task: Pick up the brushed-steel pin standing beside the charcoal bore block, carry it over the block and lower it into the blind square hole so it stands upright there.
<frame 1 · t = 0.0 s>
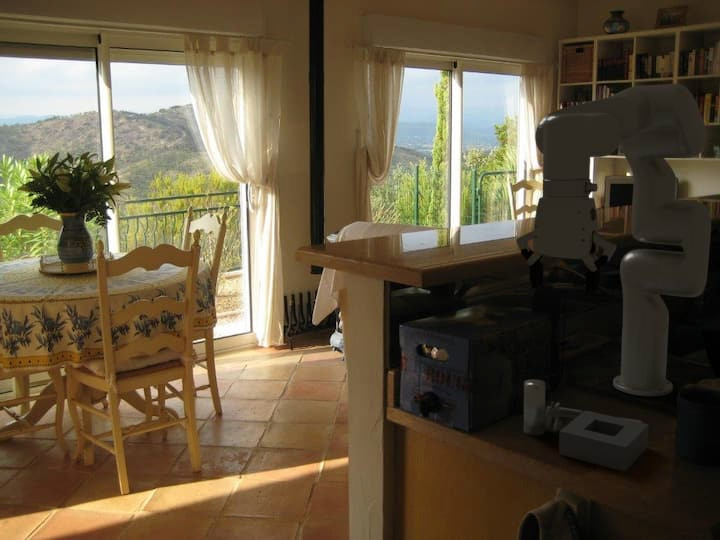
hand: (563, 289, 124), 31 cm above the countertop, fingers open, 9 cm apart
bore block: (603, 450, 133), on the countertop
caliper: (596, 430, 142), on the countertop
steel pin: (534, 431, 142), on the countertop
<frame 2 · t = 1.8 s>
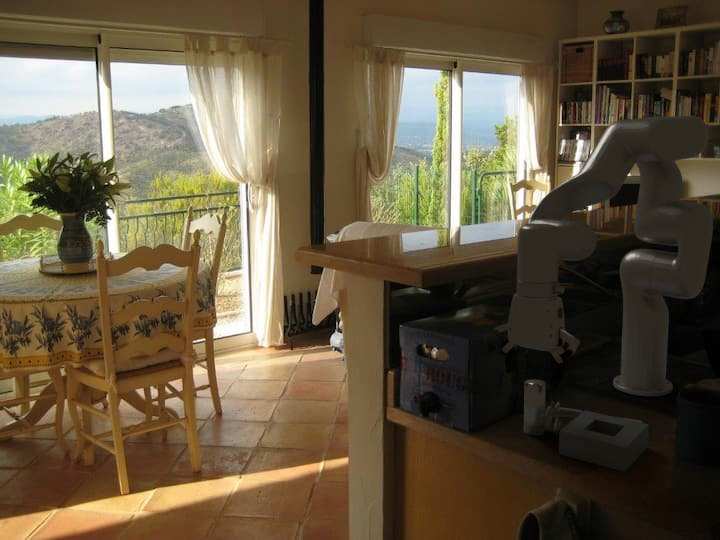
hand: (533, 376, 140), 11 cm above the countertop, fingers open, 9 cm apart
nothing on the countertop moved.
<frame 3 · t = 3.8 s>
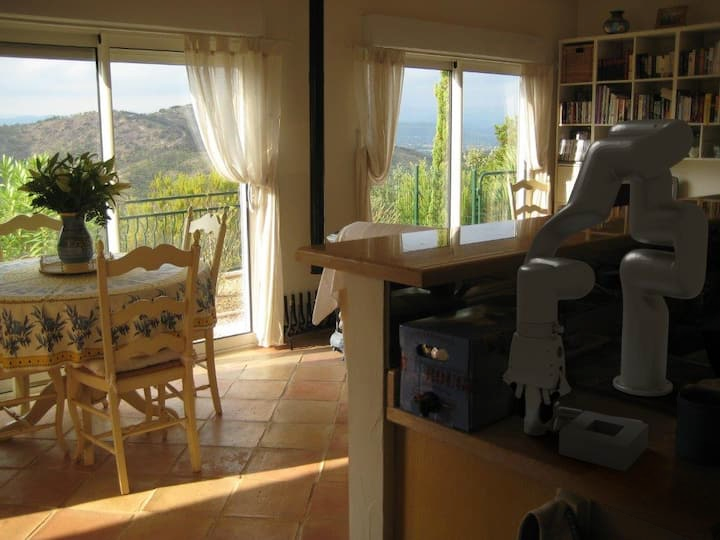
hand: (535, 417, 141), 3 cm above the countertop, fingers closed on steel pin, 4 cm apart
steel pin: (534, 431, 142), on the countertop, touching gripper
everything else where it was.
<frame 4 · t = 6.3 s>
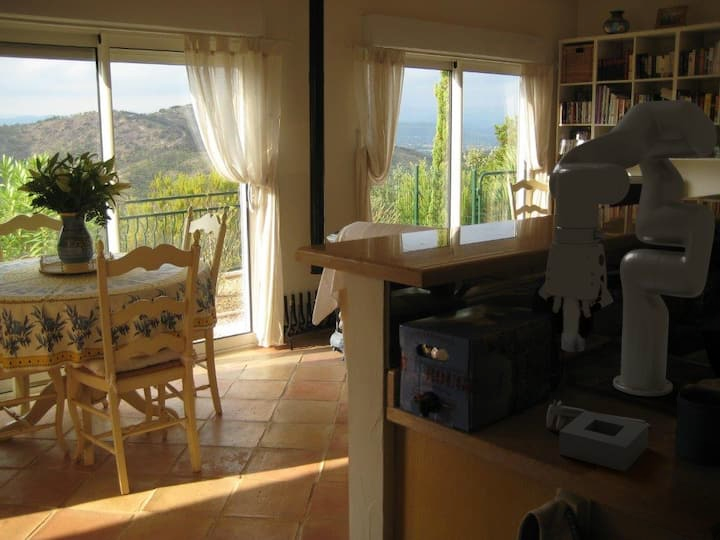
hand: (573, 333, 133), 21 cm above the countertop, fingers closed on steel pin, 4 cm apart
steel pin: (572, 348, 133), point 18 cm above the countertop, touching gripper
everything else where it was.
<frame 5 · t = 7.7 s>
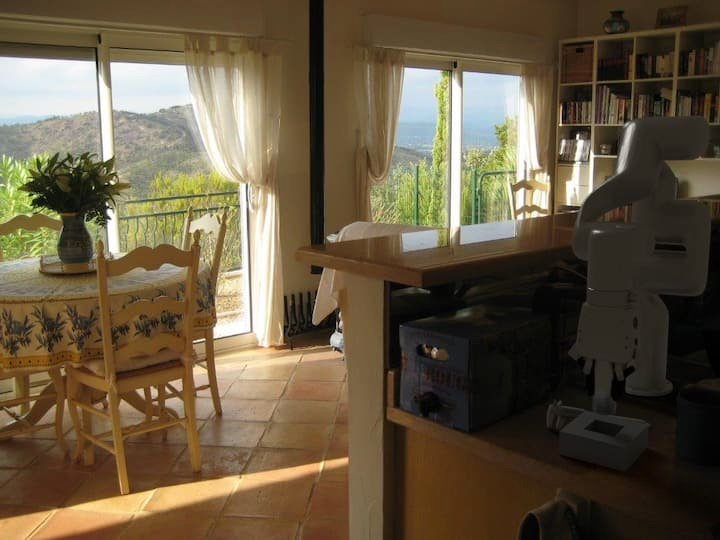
hand: (605, 395, 130), 11 cm above the countertop, fingers closed on steel pin, 4 cm apart
steel pin: (604, 411, 131), point 8 cm above the countertop, touching gripper
everything else where it was.
when the fingers open (6 cm above the countertop, at t = 9.0 s): steel pin drops 2 cm, resting on bore block.
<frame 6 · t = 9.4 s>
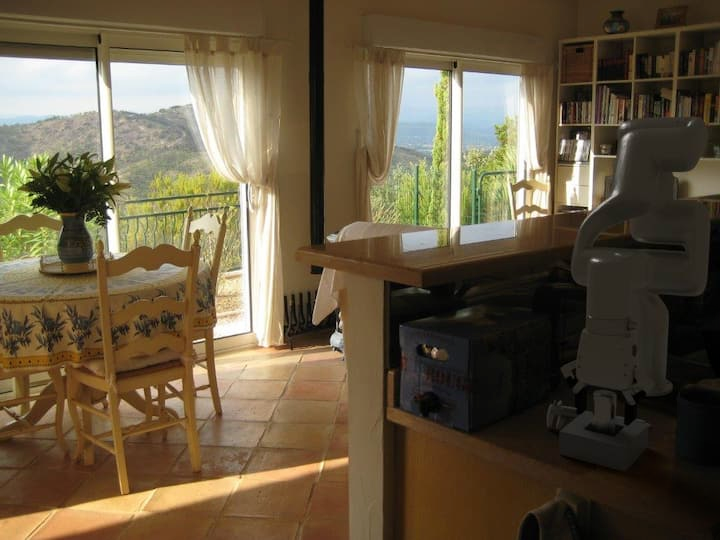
hand: (604, 417, 131), 7 cm above the countertop, fingers open, 8 cm apart
steel pin: (603, 445, 132), point 1 cm above the countertop, touching bore block
everything else where it was.
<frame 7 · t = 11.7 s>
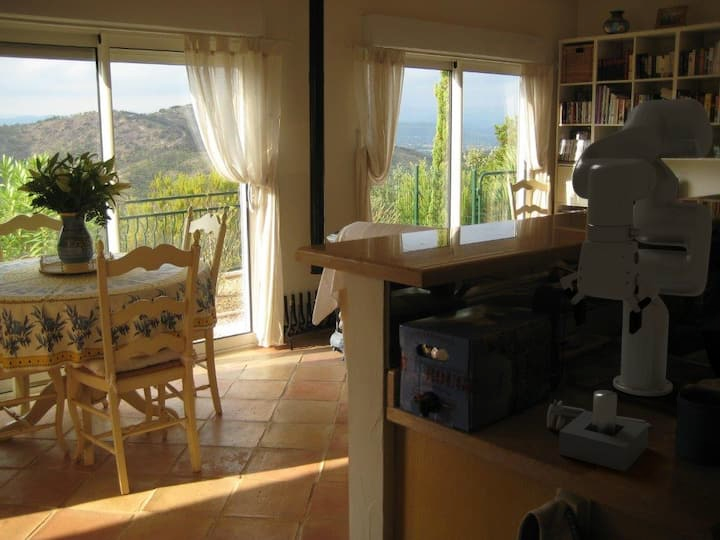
hand: (606, 328, 130), 23 cm above the countertop, fingers open, 9 cm apart
nothing on the countertop moved.
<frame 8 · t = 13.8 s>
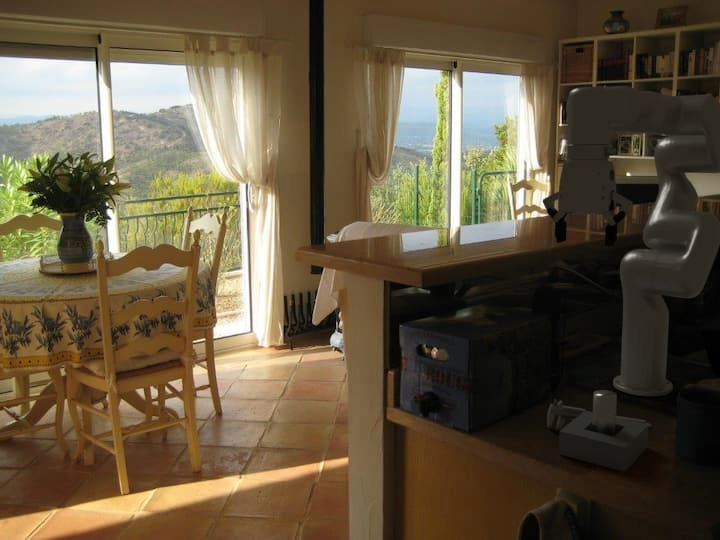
hand: (584, 243, 140), 36 cm above the countertop, fingers open, 9 cm apart
nothing on the countertop moved.
at the end: steel pin 0.1 cm off-centre on the bore block, point 1.0 cm above the bore block's base; steel pin tilted 0°; the gripper is holding nothing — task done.
